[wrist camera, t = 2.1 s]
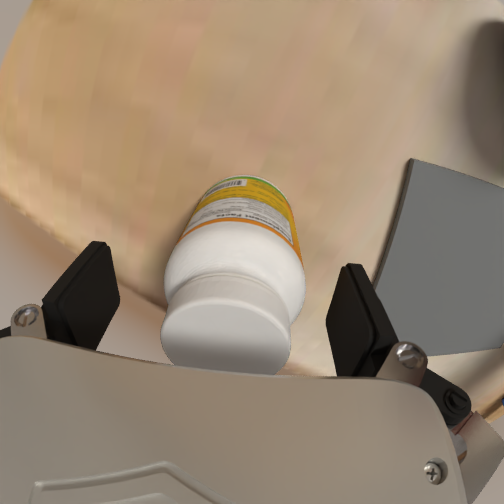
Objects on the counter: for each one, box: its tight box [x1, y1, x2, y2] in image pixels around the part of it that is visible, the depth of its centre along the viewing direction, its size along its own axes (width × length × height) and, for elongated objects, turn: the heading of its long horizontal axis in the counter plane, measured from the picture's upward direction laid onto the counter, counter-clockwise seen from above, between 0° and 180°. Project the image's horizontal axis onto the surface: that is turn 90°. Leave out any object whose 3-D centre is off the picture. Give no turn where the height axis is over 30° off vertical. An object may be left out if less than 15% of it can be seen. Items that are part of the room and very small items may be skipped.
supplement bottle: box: [161, 175, 306, 375], centre depth 13 cm, size 5×5×10 cm
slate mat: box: [373, 158, 504, 356], centre depth 18 cm, size 20×16×1 cm
